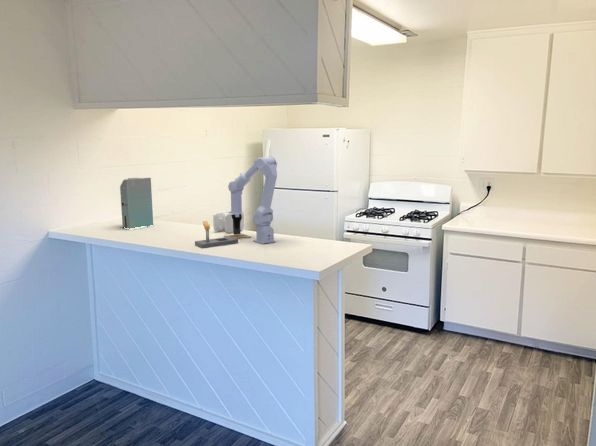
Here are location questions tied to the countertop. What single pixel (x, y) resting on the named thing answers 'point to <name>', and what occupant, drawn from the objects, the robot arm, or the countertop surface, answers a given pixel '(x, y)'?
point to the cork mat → (238, 236)
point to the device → (136, 202)
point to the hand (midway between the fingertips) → (236, 228)
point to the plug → (236, 230)
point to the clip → (206, 225)
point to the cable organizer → (225, 221)
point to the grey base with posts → (215, 241)
